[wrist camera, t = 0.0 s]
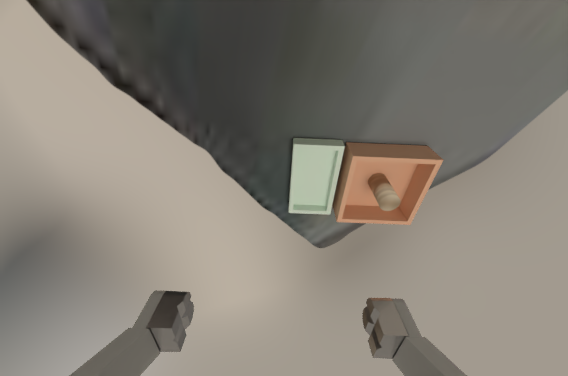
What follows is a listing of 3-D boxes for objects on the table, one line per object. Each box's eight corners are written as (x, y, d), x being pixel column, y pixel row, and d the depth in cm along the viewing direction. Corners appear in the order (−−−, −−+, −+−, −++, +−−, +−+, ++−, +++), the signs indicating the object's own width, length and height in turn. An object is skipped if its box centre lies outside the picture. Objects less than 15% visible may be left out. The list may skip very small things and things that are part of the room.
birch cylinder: (370, 172, 51) (382, 195, 44) (388, 173, 51) (403, 195, 44) (366, 187, 53) (376, 210, 47) (383, 188, 53) (396, 211, 47)
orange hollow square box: (346, 142, 47) (352, 156, 43) (427, 145, 48) (443, 160, 43) (332, 204, 58) (336, 221, 53) (399, 207, 58) (410, 224, 53)
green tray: (293, 137, 47) (293, 144, 45) (341, 139, 47) (344, 146, 45) (288, 204, 58) (288, 212, 55) (328, 206, 58) (330, 214, 55)
